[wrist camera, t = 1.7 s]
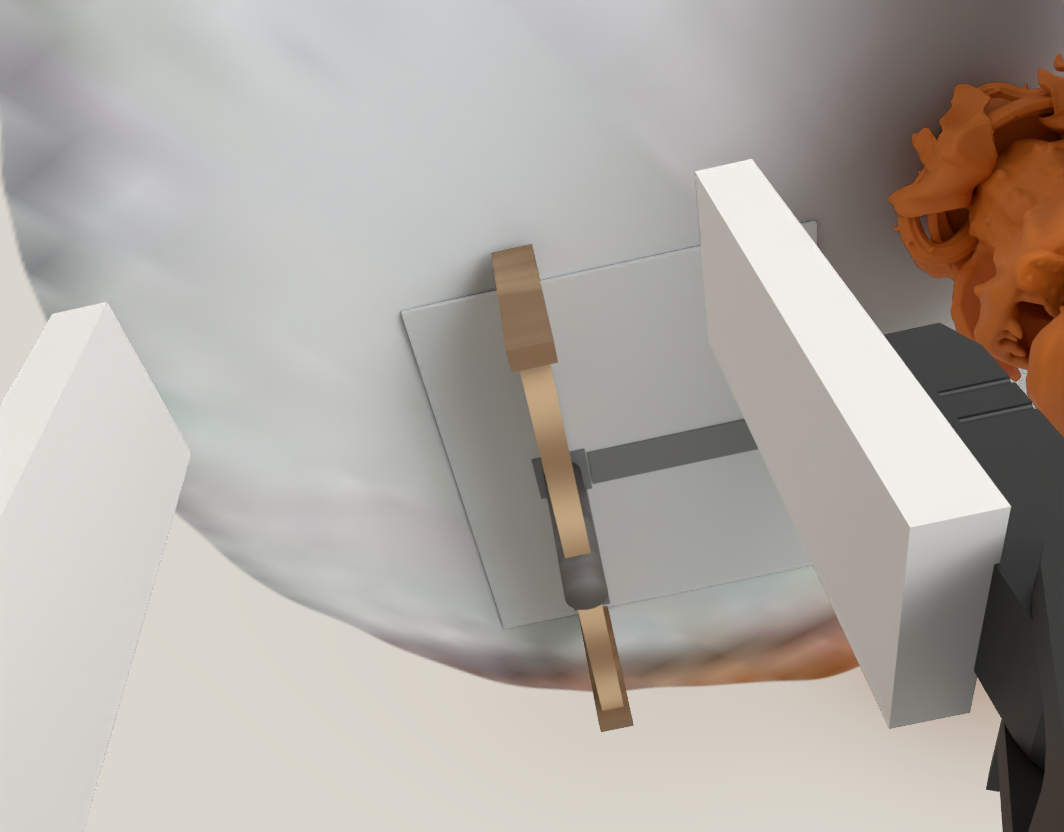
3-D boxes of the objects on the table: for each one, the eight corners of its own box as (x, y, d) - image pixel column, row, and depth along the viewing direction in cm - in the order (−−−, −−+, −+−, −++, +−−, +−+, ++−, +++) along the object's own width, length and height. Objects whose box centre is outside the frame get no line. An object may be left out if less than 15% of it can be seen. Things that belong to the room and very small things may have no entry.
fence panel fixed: (540, 463, 48) (561, 585, 41) (577, 455, 48) (605, 576, 41) (579, 622, 56) (601, 745, 50) (611, 615, 56) (638, 738, 50)
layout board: (814, 220, 41) (818, 224, 41) (811, 561, 55) (814, 566, 55) (401, 310, 42) (401, 315, 41) (503, 625, 56) (504, 630, 56)
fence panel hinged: (575, 452, 47) (599, 561, 41) (541, 459, 47) (560, 569, 41) (531, 244, 40) (553, 340, 34) (491, 253, 40) (505, 351, 34)
